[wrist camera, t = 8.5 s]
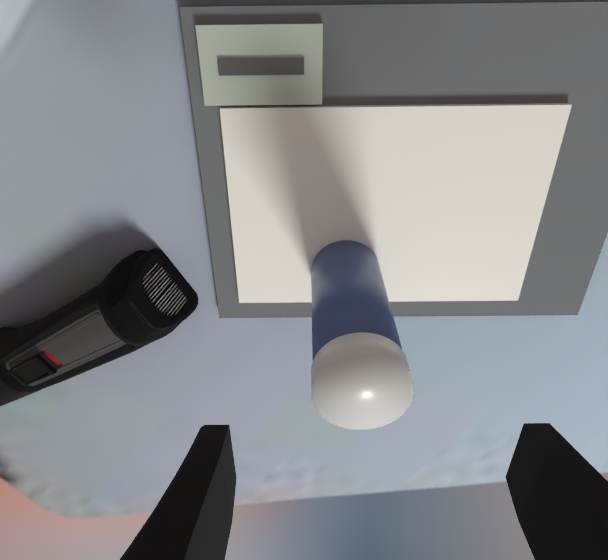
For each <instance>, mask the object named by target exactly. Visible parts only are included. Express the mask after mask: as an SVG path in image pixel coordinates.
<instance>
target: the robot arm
mask: <svg viewBox="0 0 608 560" xmlns="http://www.w3.org/2000/svg"><path fill="white" fill-rule="evenodd" d="M506 480H507V483H508V487H509V490H510V494H511V497H512V501H513V504H514V507H515V510H516V513H517V517H518V520H519V523H520V525H521V527H522V530H523V532H524V535H525V537H526V539H527V542H528V544H529V547H530V549H531V551H532V554H533V556H534V558H535V560H608V481H607V480H605V479H604V478H603V476H602V475H601V474H600V473H599V472H598V471H597V470H596V469H595V468H594V467H592V466H591V465H590V464H589V463H588V462H587V461H586V460H585V459H584V458H583V457H582V456H581V455H580V454H579V453H578V452H577V451H576V450H575V449H574V448H573V447H572V446H571V445H570V444H569V443H568V442H567V441H566V440H565V438H564V437H563V436H561V435H560V434H559V433H558V432H557V431H556V430H555V429H554V428H553V427H552V426H551V425H550V424H549V423H534V424H524V425H523V428H522V431H521V434H520V437H519V440H518V443H517V446H516V449H515V452H514V454H513V457H512V460H511V463H510V466H509V469H508V472H507V475H506ZM235 486H236V472H235V465H234V458H233V451H232V443H231V436H230V429H229V425H204V426H203V427H201V428H200V430H199V432H198V434H197V436H196V438H195V440H194V442H193V444H192V446H191V448H190V450H189V452H188V454H187V456H186V457H185V459H184V461H183V463H182V465H181V466H180V468H179V470H178V472H177V473H176V475H175V477H174V479H173V480H172V482H171V483H170V485H169V487H168V488H167V490H166V492H165V493H164V495H163V496H162V498H161V500H160V501H159V503H158V505H157V506H156V508H155V509H154V511H153V512H152V514H151V515H150V517H149V518H148V520H147V521H146V523H145V525H144V526H143V527H142V529H141V530H140V532H139V533H138V534H137V536H136V537H135V539H134V540H133V542H132V543H131V545H130V546H129V548H128V549H127V550H126V552H125V553H124V555H123V556H122V557H121V559H120V560H224V559H225V554H226V549H227V544H228V538H229V534H230V529H231V524H232V516H233V507H234V497H235Z"/></svg>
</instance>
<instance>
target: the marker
mask: <svg viewBox="0 0 608 560" xmlns="http://www.w3.org/2000/svg"><path fill="white" fill-rule="evenodd" d="M311 289H312V345H313V363H312V368H311V386H312V401H313V405H314V407H315V409H316V410H317V412H318V413H319V414H320V415H321V416H322V417H323V418H324V419H325V420H327V421H328V422H330V423H332V424H334V425H336V426H339V427H342V428H346V429H354V430H366V429H373V428H378V427H381V426H384V425H386V424H389V423H391V422H393V421H394V420H396V419H397V418H399V417H400V416H401V415H402V414H404V412H405V411H406V410H407V409H408V408H409V406H410V404H411V402H412V400H413V396H414V384H413V381H412V377H411V374H410V370H409V366H408V363H407V359H406V356H405V354H404V352H403V351H402V347H401V344H400V340H399V336H398V333H397V329H396V325H395V322H394V318H393V314H392V311H391V307H390V303H389V300H388V296H387V292H386V289H385V285H384V281H383V278H382V274H381V270H380V267H379V263H378V259H377V257H376V255H375V254H374V252H373V251H372V250H371V249H370V248H369V247H367V246H366V245H364V244H362V243H360V242H357V241H352V240H342V241H337V242H333V243H331V244H329V245H327V246H325V247H324V248H323V249H321V250H320V251H319V252H318V254H317V255H316V256H315V258H314V260H313V263H312V267H311Z"/></svg>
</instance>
